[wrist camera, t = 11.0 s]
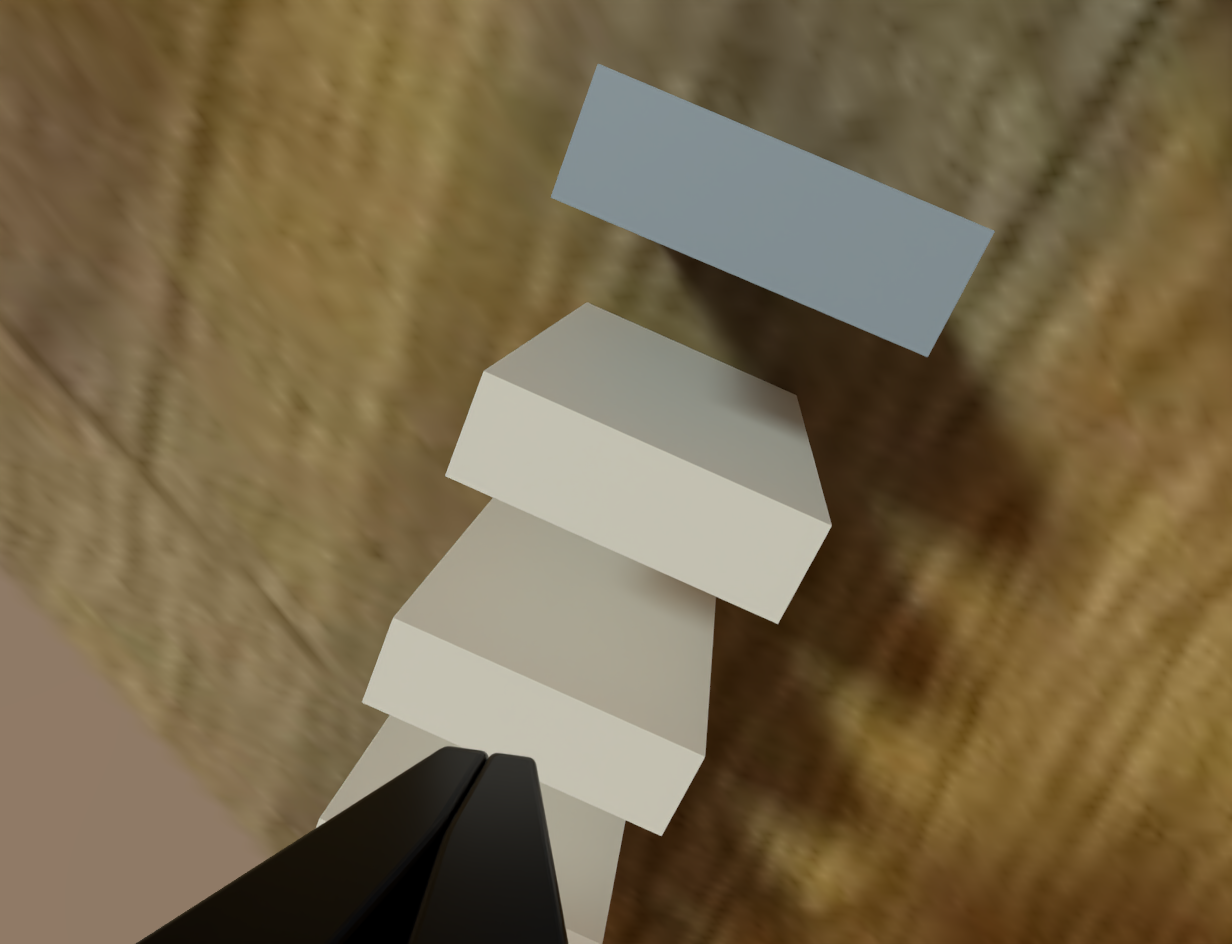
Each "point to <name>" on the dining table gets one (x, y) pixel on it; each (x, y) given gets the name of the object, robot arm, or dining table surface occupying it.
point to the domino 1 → (768, 211)
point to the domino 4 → (574, 826)
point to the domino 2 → (651, 457)
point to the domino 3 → (557, 663)
